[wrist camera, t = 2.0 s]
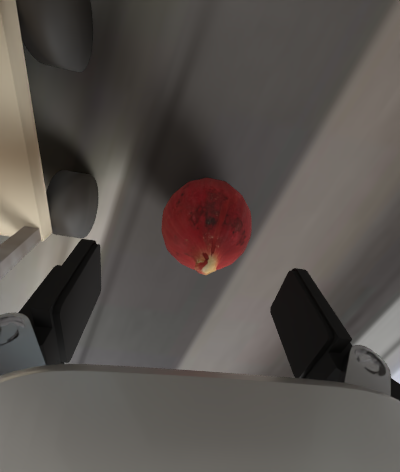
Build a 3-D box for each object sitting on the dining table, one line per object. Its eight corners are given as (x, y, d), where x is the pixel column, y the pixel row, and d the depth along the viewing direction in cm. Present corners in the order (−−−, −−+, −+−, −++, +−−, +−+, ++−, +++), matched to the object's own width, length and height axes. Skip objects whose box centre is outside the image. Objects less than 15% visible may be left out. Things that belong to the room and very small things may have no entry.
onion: (173, 157, 17) (157, 204, 10) (251, 173, 17) (285, 227, 11) (164, 226, 20) (146, 299, 13) (230, 238, 20) (246, 312, 14)
